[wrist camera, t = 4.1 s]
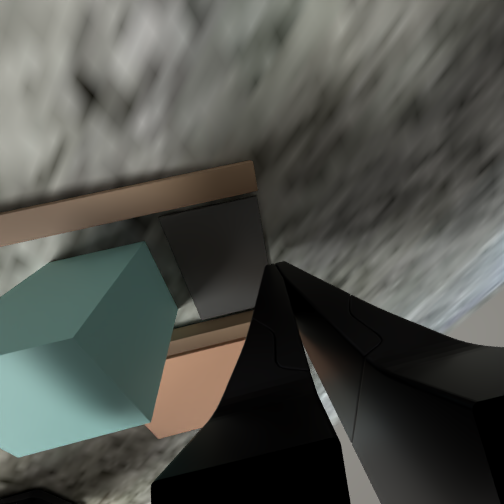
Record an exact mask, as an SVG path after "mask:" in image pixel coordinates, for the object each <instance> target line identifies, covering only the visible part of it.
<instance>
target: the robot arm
mask: <svg viewBox="0 0 504 504" xmlns="http://www.w3.org/2000/svg"><path fill="white" fill-rule="evenodd" d="M302 343H303V344H302ZM303 345H304V347H305V349H306V351H307V353H308V356H309V358H310V360H311V362H312V364H313V366H314V368H315V370H316V372H317V374H318V376H319V378H320V380H321V382H322V384H323V386H324V388H325V390H326V392H327V394H328V396H329V398H330V400H331V402H332V404H333V406H334V409H335V411H336V413H337V415H338V417H339V419H340V421H341V423H342V425H343V427H344V429H345V431H346V433H347V435H348V437H349V439H350V441H351V442H352V445H353V447H354V449H355V452H356V454H357V456H358V458H359V460H360V462H361V464H362V466H363V468H364V470H365V472H366V474H367V476H368V478H369V480H370V482H371V484H372V486H373V488H374V490H375V492H376V494H377V496H378V498H379V500H380V503H381V504H504V347H492V346H483V345H477V344H472V343H467V342H464V341H460V340H457V339H454V338H451V337H449V336H446V335H443V334H441V333H438V332H436V331H434V330H431V329H429V328H426V327H424V326H421V325H419V324H416V323H414V322H411V321H409V320H407V319H404V318H402V317H399V316H397V315H394V314H392V313H390V312H387V311H385V310H383V309H380V308H378V307H376V306H374V305H372V304H369V303H367V302H365V301H363V300H361V299H359V298H357V297H355V296H353V295H351V296H350V294H349V293H347V292H345V291H343V290H341V289H339V288H337V287H335V286H333V285H331V284H329V283H327V282H325V281H323V280H321V279H319V278H317V277H315V276H313V275H311V274H309V273H307V272H305V271H303V270H301V269H299V268H297V267H295V266H293V265H291V264H289V263H287V262H285V261H283V262H278V263H276V264H270V265H266V266H265V268H264V272H263V276H262V280H261V283H260V287H259V291H258V295H257V299H256V303H255V307H254V311H253V315H252V320H251V322H250V326H249V330H248V333H247V336H246V340H245V343H244V345H243V348H242V350H241V353H240V356H239V358H238V360H237V363H236V365H235V367H234V370H233V372H232V375H231V377H230V379H229V382H228V384H227V386H226V389H225V391H224V394H223V396H222V398H221V400H220V402H219V404H218V406H217V408H216V410H215V412H214V413H213V415H212V416H211V418H210V419H209V420H208V422H207V423H206V424H205V425H204V426H203V427H202V429H201V430H200V431H199V432H198V433H197V434H196V435H195V436H194V437H193V438H192V440H191V441H190V442H189V443H188V444H187V445H186V446H185V447H184V448H183V450H182V451H181V452H180V453H179V454H178V455H177V456H176V457H175V458H174V460H173V461H172V462H171V463H170V464H169V465H168V466H167V467H166V468H165V470H164V471H163V472H162V473H161V474H160V475H159V476H158V477H157V478H156V480H155V481H154V482H153V483H152V484H151V504H350V497H349V491H348V485H347V479H346V473H345V466H344V461H343V454H342V448H341V443H340V441H339V439H338V436H337V435H336V432H335V430H334V428H333V426H332V424H331V422H330V419H329V417H328V415H327V413H326V411H325V409H324V407H323V405H322V403H321V400H320V398H319V396H318V394H317V391H316V388H315V385H314V382H313V379H312V375H311V373H310V368H309V365H308V361H307V358H306V354H305V351H304V348H303ZM0 504H72V503H69V502H67V501H65V500H63V499H60V498H58V497H56V496H53V495H51V494H49V493H47V492H44V491H42V490H34V491H30V492H26V493H22V494H18V495H15V496H11V497H7V498H4V499H0Z"/></svg>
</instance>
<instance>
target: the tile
mask: <svg viewBox="0 0 504 504" xmlns="http://www.w3.org/2000/svg"><path fill="white" fill-rule="evenodd" d="M245 340H246V337H242V338H238V339H234V340H230V341H226V342H222V343H218V344H214V345H210V346H206V347H202V348H198V349H194V350H190V351H186V352H182V353H178V354H174V355H170V356H167V357H166V361H165V365H164V369H163V374H162V378H161V382H160V386H159V390H158V395H157V399H156V403H155V407H154V412H153V416H152V420H151V423H147V424H144V425H145V426H146V427H147V428H148V429H149V430H150V431H151V432H152V433H153V434H154V435H155V436H156V437H157V438H158V439H160V438H164V437H168V436H172V435H176V434H179V433H183V432H187V431H191V430H194V429H198V428H202V427H203V426H204V425H205V424H206V423H207V422H208V420H209V419H210V418H211V416H212V415H213V413H214V412H215V410H216V408H217V406H218V404H219V402H220V400H221V398H222V396H223V394H224V391H225V389H226V386H227V384H228V382H229V379H230V377H231V375H232V372H233V370H234V367H235V365H236V363H237V360H238V358H239V356H240V353H241V350H242V348H243V345H244V343H245Z"/></svg>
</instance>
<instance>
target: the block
mask: <svg viewBox="0 0 504 504" xmlns="http://www.w3.org/2000/svg"><path fill="white" fill-rule="evenodd" d="M177 311H178V308H177V306H176V304H175V302H174V300H173V298H172V296H171V294H170V292H169V290H168V288H167V286H166V284H165V282H164V280H163V277H162V275H161V273H160V271H159V269H158V267H157V265H156V263H155V261H154V259H153V257H152V255H151V253H150V251H149V249H148V247H147V245H146V243H145V241H142V242H138V243H133V244H129V245H124V246H120V247H116V248H111V249H107V250H102V251H98V252H93V253H89V254H85V255H80V256H76V257H71V258H67V259H62V260H58V261H53V262H49V263H48V264H46V265H45V266H43V267H42V268H41V269H39V270H38V271H36V272H35V273H34V274H32V275H31V276H29V277H28V278H27V279H25V280H24V281H22V282H21V283H20V284H18V285H17V286H15V287H14V288H13V289H11V290H10V291H8V292H7V293H5V294H4V295H3V296H1V297H0V449H2V450H4V451H6V452H8V453H10V454H12V455H14V456H16V457H18V458H19V457H22V456H26V455H30V454H34V453H37V452H41V451H45V450H49V449H53V448H56V447H60V446H64V445H68V444H71V443H75V442H79V441H83V440H87V439H90V438H94V437H98V436H102V435H105V434H109V433H113V432H117V431H121V430H124V429H128V428H132V427H136V426H140V425H143V424H147V423H151V420H152V416H153V412H154V407H155V403H156V399H157V395H158V390H159V386H160V382H161V378H162V374H163V369H164V365H165V361H166V357H167V353H168V348H169V344H170V340H171V336H172V332H173V327H174V323H175V319H176V315H177Z"/></svg>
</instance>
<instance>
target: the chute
mask: <svg viewBox="0 0 504 504" xmlns="http://www.w3.org/2000/svg"><path fill="white" fill-rule="evenodd" d="M254 191H258V189H257V183H256V176H255V170H254V164H253V161H251V160H248V161H243V162H239V163H234V164H229V165H224V166H220V167H215V168H210V169H205V170H201V171H196V172H191V173H186V174H182V175H177V176H172V177H167V178H163V179H158V180H153V181H149V182H144V183H139V184H134V185H130V186H125V187H120V188H115V189H111V190H106V191H101V192H96V193H92V194H87V195H82V196H77V197H73V198H68V199H63V200H58V201H54V202H49V203H44V204H39V205H35V206H30V207H25V208H20V209H16V210H11V211H6V212H1V213H0V247H2V246H6V245H11V244H15V243H20V242H25V241H29V240H34V239H38V238H43V237H48V236H52V235H57V234H61V233H66V232H71V231H75V230H80V229H84V228H89V227H93V226H98V225H103V224H107V223H112V222H116V221H121V220H126V219H130V218H135V217H139V216H144V215H149V214H153V213H158V212H162V211H167V210H172V209H176V208H181V207H185V206H190V205H195V204H199V203H204V202H208V201H213V200H218V199H222V198H227V197H231V196H236V195H241V194H245V193H250V192H254ZM158 219H159V221H160V223H161V226H162V228H163V230H164V233H165V235H166V237H167V240H168V242H169V244H170V247H171V249H172V252H173V254H174V256H175V259H176V261H177V263H178V266H179V268H180V270H181V273H182V275H183V278H184V280H185V282H186V285H187V287H188V289H189V292H190V294H191V296H192V299H193V301H194V303H195V306H196V308H197V311H198V313H199V315H200V318H201V320H204V319H208V318H212V317H217V316H221V315H225V314H229V313H233V312H237V311H241V310H245V309H250V308H254V307H255V303H256V299H257V295H258V291H259V287H260V283H261V280H262V276H263V272H264V268H265V266H266V265H268V261H267V255H266V249H265V243H264V237H263V231H262V225H261V219H260V213H259V207H258V201H257V196H256V195H255V196H250V197H246V198H241V199H237V200H232V201H228V202H223V203H218V204H214V205H209V206H205V207H200V208H195V209H191V210H186V211H182V212H177V213H173V214H168V215H163V216H159V218H158ZM253 311H254V310H250V311H246V312H242V313H238V314H234V315H230V316H226V317H222V318H217V319H213V320H209V321H205V322H201V323H197V324H193V325H189V326H184V327H180V328H176V329H173V332H172V336H171V340H170V344H169V348H168V353H167V356H170V355H174V354H178V353H182V352H186V351H190V350H194V349H198V348H202V347H206V346H210V345H214V344H218V343H222V342H226V341H230V340H234V339H238V338H242V337H246V336H247V333H248V330H249V326H250V322H251V320H252V315H253Z"/></svg>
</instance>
